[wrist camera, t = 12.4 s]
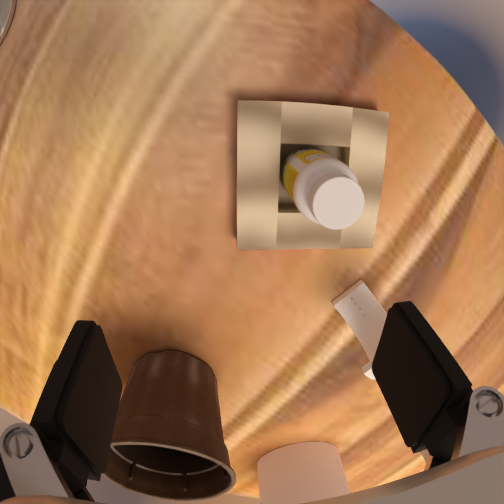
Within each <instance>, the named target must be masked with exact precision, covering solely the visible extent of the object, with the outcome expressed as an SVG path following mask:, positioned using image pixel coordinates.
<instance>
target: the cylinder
mask: <svg viewBox="0 0 504 504" xmlns="http://www.w3.org/2000/svg"><path fill="white" fill-rule="evenodd" d="M257 472H258V482H259V492H260V502H261V504H300V503H306V502H312V501H317V500H323V499H328V498H333V497H337V496H342V495H346V494H350V491H349V488H348V484H347V480H346V476H345V473H344V469H343V465H342V462H341V458H340V455H339V451H338V448H337V447H336V446H335V445H332V444H330V443H325V442H304V443H296V444H292V445H287V446H284V447H281V448H278V449H275V450H273V451H271V452H269V453H267V454H265V455H264V456H263V457H261V458H260V459H259V461H258V462H257Z"/></svg>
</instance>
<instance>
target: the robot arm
mask: <svg viewBox="0 0 504 504" xmlns="http://www.w3.org/2000/svg"><path fill="white" fill-rule="evenodd" d="M15 5H16V0H0V44H1V42H2V40H3V39H4V37H5V35H6V33H7V31H8V29H9V26H10V24H11V21H12V18H13V15H14V10H15ZM372 372H373V375H374V377H375V379H376V381H377V383H378V385H379V387H380V389H381V391H382V393H383V396H384V398H385V400H386V402H387V404H388V406H389V409H390V411H391V413H392V415H393V417H394V419H395V422H396V424H397V426H398V428H399V431H400V433H401V435H402V437H403V440H404V442H405V444H406V445H407V447H411V449H412V451H413V453H417V452H420V451H423V450H425V449H427V450H428V452H429V457H428V461H427V463H426V466H425V469H424V471H423V472H420V473H417V474H414V475H411V476H408V477H405V478H402V479H399V480H396V481H393V482H390V483H387V484H384V485H380V486H377V487H373V488H370V489H366V490H362V491H358V492H354V493H350V494H346V495H342V496H337V497H333V498H328V499H323V500H317V501H312V502H306V503H300V504H504V396H503V395H502V394H501V393H500V392H499V391H498V390H496V389H494V388H492V387H488V386H482V387H478V388H476V389H475V390H474V391H473V390H472V388H471V386H472V384H471V382H470V381H469V379H468V378H467V376H466V375H465V373H464V372H463V370H462V369H461V367H460V366H459V365H458V363H457V362H456V360H455V359H454V357H453V356H452V355H451V353H450V352H449V350H448V349H447V348H446V346H445V345H444V344H443V342H442V341H441V339H440V338H439V337H438V335H437V334H436V333H435V331H434V330H433V329H432V327H431V326H430V325H429V323H428V322H427V321H426V319H425V318H424V317H423V316H422V314H421V313H420V312H419V310H418V309H417V308H416V307H415V305H414V304H413V303H412V302H411V301H405V302H398V303H394V304H393V306H392V308H390V309H389V310H388V313H387V317H386V320H385V324H384V327H383V330H382V334H381V337H380V340H379V343H378V347H377V350H376V353H375V356H374V359H373V362H372ZM121 393H122V381H121V378H120V376H119V374H118V371H117V369H116V366H115V364H114V361H113V359H112V356H111V353H110V351H109V348H108V345H107V343H106V340H105V337H104V334H103V332H102V329H101V327H100V326H99V325H96V323H95V322H94V321H86V320H78V321H76V322H75V324H74V326H73V328H72V330H71V332H70V334H69V336H68V339H67V341H66V343H65V345H64V347H63V349H62V351H61V353H60V356H59V358H58V360H57V361H56V362H55V364H54V366H53V368H52V371H51V373H50V375H49V377H48V380H47V382H46V384H45V387H44V389H43V392H42V394H41V397H40V399H39V402H38V404H37V407H36V409H35V412H34V414H33V417H32V420H31V422H30V425H28V424H25V423H16V424H13V425H11V426H9V427H8V428H6V430H5V431H4V432H3V433H2V435H1V437H0V504H104V503H98V502H95V501H94V500H93V498H92V497H91V495H90V493H89V492H88V490H87V489H86V485H87V479H90V480H96V481H100V477H101V474H104V473H105V471H106V468H107V462H108V456H109V451H110V445H111V440H112V435H113V430H114V425H115V420H116V415H117V411H118V406H119V401H120V397H121Z"/></svg>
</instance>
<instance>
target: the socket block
mask: <svg viewBox="0 0 504 504" xmlns="http://www.w3.org/2000/svg"><path fill="white" fill-rule="evenodd" d="M388 120H389V112H382V111H376V110H369V109H361V108H353V107H345V106H336V105H325V104H314V103H300V102H282V101H247V100H238V101H237V182H236V221H237V250H274V249H342V248H372V247H373V241H374V235H375V230H376V223H377V217H378V211H379V204H380V197H381V189H382V181H383V173H384V165H385V155H386V145H387V133H388ZM304 147H312V148H316V149H319V150H321V151H323V152H325V153H327V154H329V155H330V156H332V157H334V158H336V159H338V160H340V161H341V162H343V163H344V164H346V165H347V166H348V167H349V168H350V169H351V170H352V171H353V172H354V174H355V176H356V178H357V181H358V184H359V186H360V187H361V189H362V191H363V194H364V200H365V202H364V208H363V211H362V214H361V215H360V217H359V218H358V220H357V221H356V222H355V223H353V224H352V225H350V226H349V227H346V228H344V229H338V230H333V229H329V228H326V227H324V226H323V225H321V224H318V223H314V222H312V221H310V220H309V219H307V218H306V217H305V216H303V215H302V214H301V212H300V211H299V210H298V208H297V207H296V205H295V204H294V202H293V201H292V199H291V198H290V196H289V195H288V193H287V192H286V190H285V189H284V187H283V185H282V182H281V175H280V173H281V167H282V164H283V162H284V160H285V159H286V158H287V156H288V155H289V154H290V153H292V152H293V151H295V150H297V149H300V148H304Z"/></svg>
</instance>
